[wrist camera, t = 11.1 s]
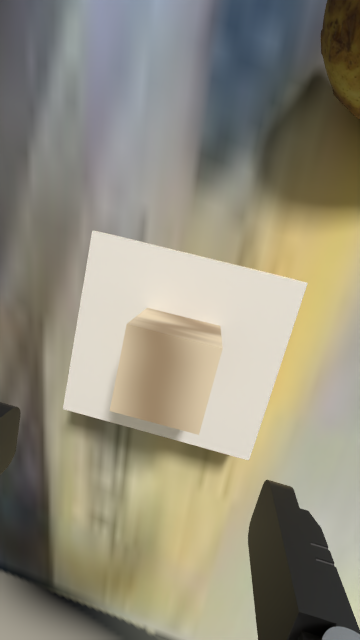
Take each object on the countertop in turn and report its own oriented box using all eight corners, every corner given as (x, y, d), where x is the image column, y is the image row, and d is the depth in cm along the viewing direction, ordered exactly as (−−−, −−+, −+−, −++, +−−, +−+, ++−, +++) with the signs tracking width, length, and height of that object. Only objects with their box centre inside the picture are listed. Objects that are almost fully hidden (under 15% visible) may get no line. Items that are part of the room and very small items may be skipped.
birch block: (220, 325, 20) (222, 348, 15) (202, 394, 21) (198, 434, 17) (147, 307, 21) (126, 323, 16) (132, 375, 22) (109, 410, 17)
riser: (291, 278, 23) (307, 283, 19) (243, 429, 26) (248, 460, 22) (112, 234, 24) (92, 230, 20) (84, 386, 27) (63, 409, 23)
